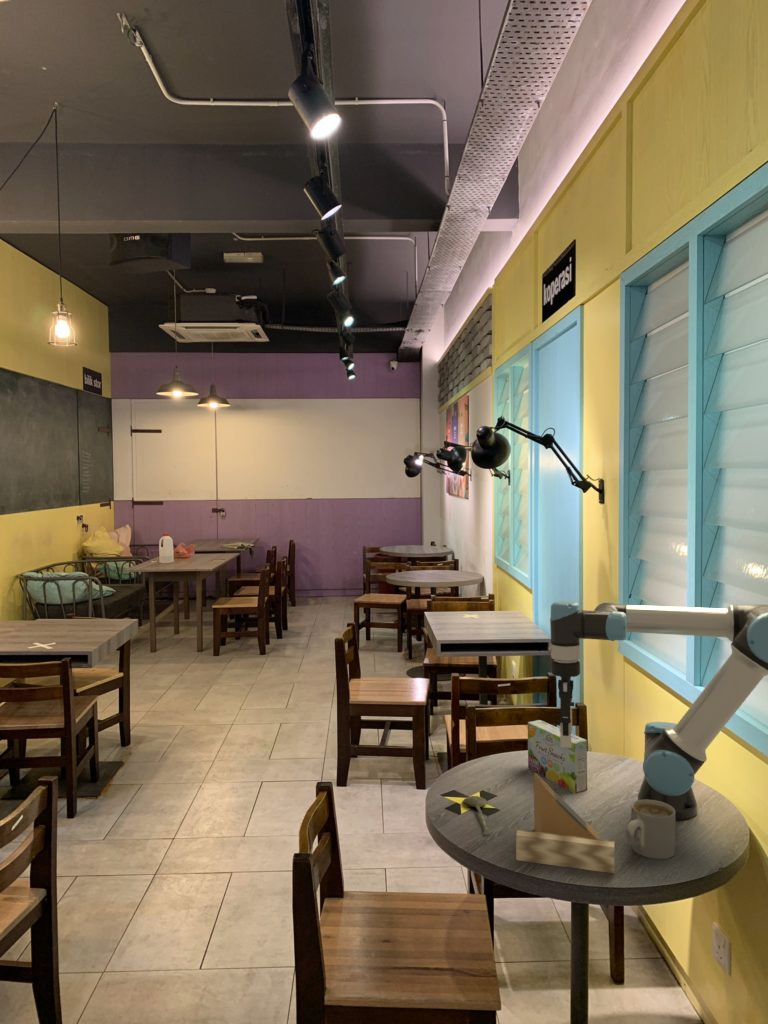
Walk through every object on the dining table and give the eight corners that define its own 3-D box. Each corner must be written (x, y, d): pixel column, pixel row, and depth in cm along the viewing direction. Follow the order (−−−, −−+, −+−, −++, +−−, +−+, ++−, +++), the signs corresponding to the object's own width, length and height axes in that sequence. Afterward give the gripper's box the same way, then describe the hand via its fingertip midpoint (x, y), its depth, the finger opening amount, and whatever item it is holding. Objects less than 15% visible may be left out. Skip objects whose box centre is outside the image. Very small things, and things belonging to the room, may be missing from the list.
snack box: (526, 769, 225) (526, 721, 224) (540, 766, 227) (540, 718, 227) (574, 794, 206) (574, 742, 206) (588, 790, 209) (589, 739, 208)
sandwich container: (603, 844, 177) (604, 784, 176) (541, 845, 176) (541, 785, 176) (593, 828, 185) (593, 770, 185) (534, 829, 185) (534, 771, 185)
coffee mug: (656, 836, 181) (657, 797, 180) (684, 855, 171) (684, 814, 171) (611, 844, 177) (611, 804, 176) (636, 864, 167) (636, 821, 167)
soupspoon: (484, 802, 204) (461, 803, 203) (484, 790, 204) (461, 791, 203) (499, 836, 182) (473, 838, 181) (498, 823, 182) (472, 824, 181)
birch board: (614, 866, 166) (614, 841, 166) (615, 873, 163) (615, 847, 163) (516, 853, 172) (516, 829, 172) (515, 859, 169) (515, 834, 169)
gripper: (553, 649, 206) (554, 723, 206) (548, 670, 182) (550, 753, 182) (580, 650, 204) (581, 724, 204) (579, 671, 179) (580, 755, 180)
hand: (566, 738), depth 193 cm, fingers open, 13 cm apart
